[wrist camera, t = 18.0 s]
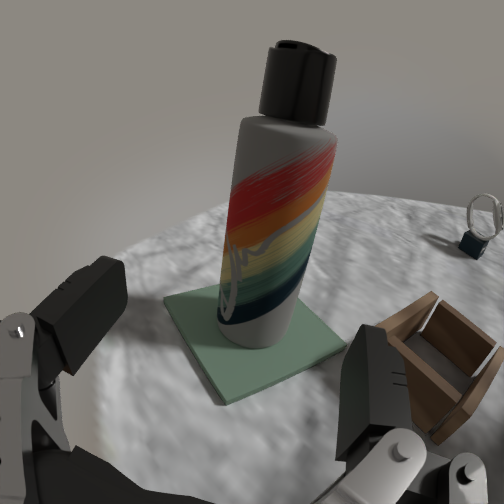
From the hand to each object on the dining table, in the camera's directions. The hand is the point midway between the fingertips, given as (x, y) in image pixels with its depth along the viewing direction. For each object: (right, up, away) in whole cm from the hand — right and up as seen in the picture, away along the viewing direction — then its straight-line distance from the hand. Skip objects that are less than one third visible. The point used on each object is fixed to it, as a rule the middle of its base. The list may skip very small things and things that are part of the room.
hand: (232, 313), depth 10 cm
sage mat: (+1, -4, +15) cm, 16 cm away
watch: (+41, +2, +37) cm, 55 cm away
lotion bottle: (+1, -4, +15) cm, 15 cm away
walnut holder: (+15, -8, +12) cm, 21 cm away
